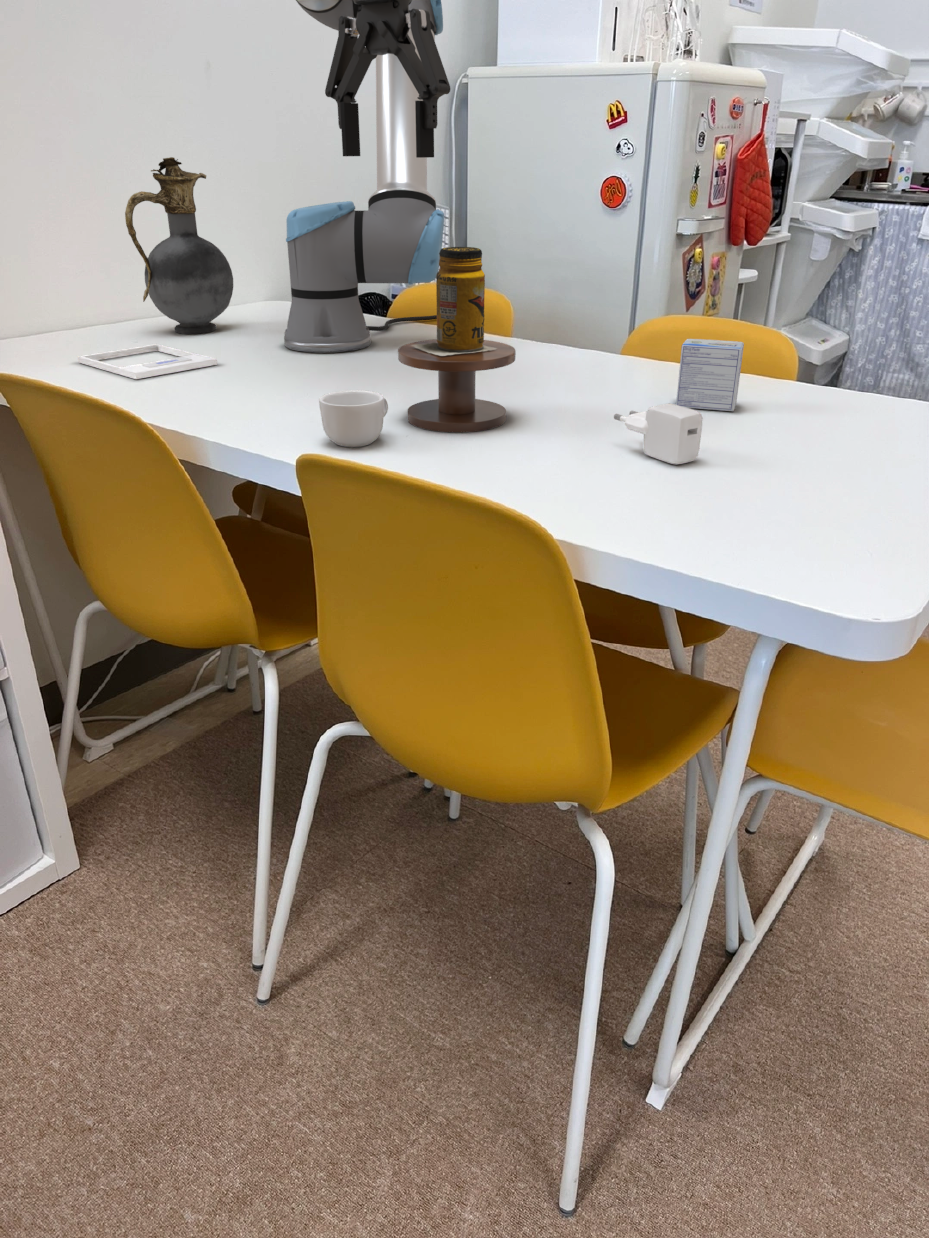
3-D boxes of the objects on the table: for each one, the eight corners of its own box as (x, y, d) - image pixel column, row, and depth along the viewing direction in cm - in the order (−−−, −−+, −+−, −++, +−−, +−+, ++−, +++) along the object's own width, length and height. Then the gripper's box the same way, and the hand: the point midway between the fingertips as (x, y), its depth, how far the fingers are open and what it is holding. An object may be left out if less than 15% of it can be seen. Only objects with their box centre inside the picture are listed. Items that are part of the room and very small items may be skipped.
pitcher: (246, 328, 182) (229, 157, 169) (160, 342, 169) (134, 158, 156) (213, 322, 189) (194, 156, 175) (128, 335, 176) (99, 157, 162)
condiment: (497, 350, 119) (499, 249, 114) (441, 357, 115) (440, 253, 109) (465, 341, 124) (465, 244, 119) (410, 348, 120) (408, 248, 115)
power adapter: (605, 445, 113) (609, 396, 110) (634, 438, 116) (638, 391, 113) (673, 468, 105) (679, 417, 102) (703, 461, 107) (709, 410, 105)
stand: (449, 399, 133) (449, 334, 129) (536, 417, 125) (538, 348, 120) (376, 421, 123) (373, 350, 118) (465, 441, 114) (465, 367, 110)
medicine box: (736, 405, 130) (745, 341, 127) (733, 413, 127) (742, 347, 123) (679, 400, 133) (685, 337, 129) (674, 408, 129) (681, 343, 125)
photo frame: (134, 372, 142) (77, 355, 153) (136, 379, 143) (78, 362, 154) (216, 357, 152) (156, 343, 163) (217, 364, 152) (157, 349, 163)
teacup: (354, 455, 109) (351, 409, 107) (308, 443, 113) (305, 399, 111) (410, 436, 116) (409, 393, 114) (365, 426, 120) (363, 384, 118)
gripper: (291, -27, 121) (303, 156, 131) (438, -48, 107) (439, 158, 117) (333, -20, 127) (342, 155, 136) (478, -39, 113) (476, 157, 122)
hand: (387, 157), depth 127 cm, fingers open, 13 cm apart
